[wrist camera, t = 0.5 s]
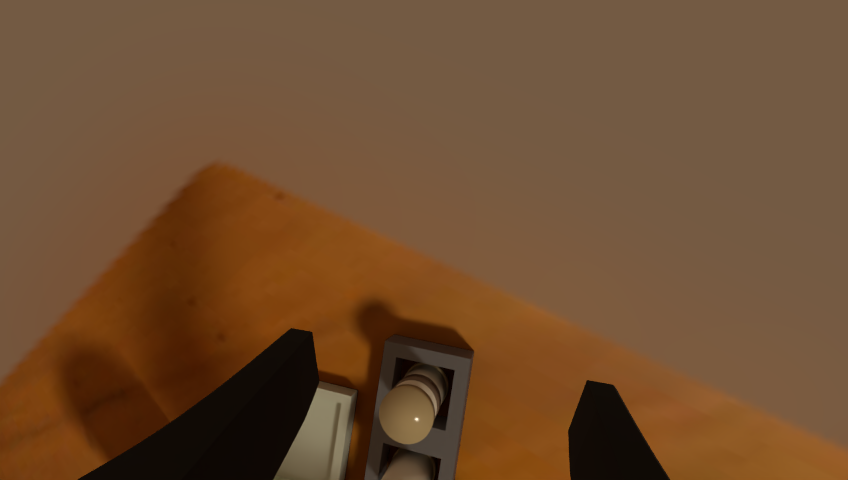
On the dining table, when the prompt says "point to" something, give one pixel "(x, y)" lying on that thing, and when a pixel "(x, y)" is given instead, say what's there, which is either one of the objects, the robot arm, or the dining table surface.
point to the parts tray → (322, 437)
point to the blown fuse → (414, 403)
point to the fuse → (411, 466)
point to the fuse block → (445, 429)
